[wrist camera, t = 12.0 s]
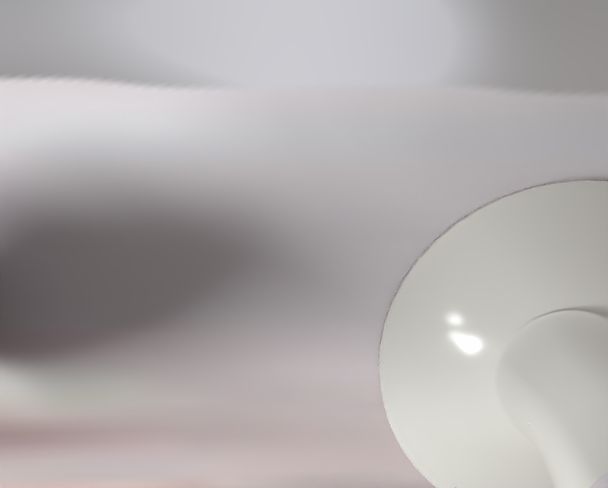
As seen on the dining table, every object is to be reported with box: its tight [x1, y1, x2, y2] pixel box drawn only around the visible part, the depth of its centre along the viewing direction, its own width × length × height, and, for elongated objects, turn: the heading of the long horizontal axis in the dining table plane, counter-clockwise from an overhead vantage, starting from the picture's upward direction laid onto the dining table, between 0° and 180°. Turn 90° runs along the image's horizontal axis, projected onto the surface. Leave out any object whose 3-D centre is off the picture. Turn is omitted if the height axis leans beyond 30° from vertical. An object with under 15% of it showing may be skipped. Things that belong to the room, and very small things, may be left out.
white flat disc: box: [379, 180, 608, 488], centre depth 20 cm, size 16×16×1 cm
